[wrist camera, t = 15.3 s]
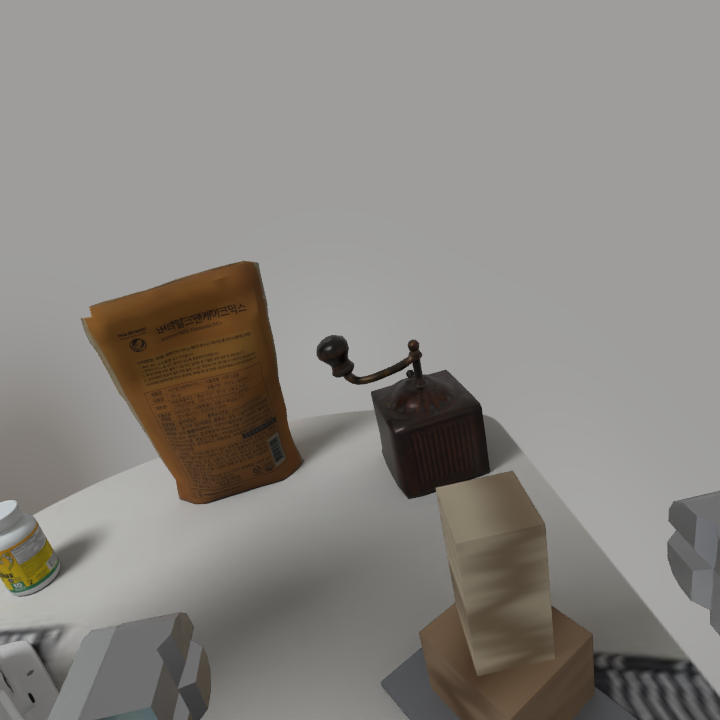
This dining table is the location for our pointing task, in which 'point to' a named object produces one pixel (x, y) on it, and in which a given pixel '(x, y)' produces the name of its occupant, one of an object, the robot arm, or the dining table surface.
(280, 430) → the pancake mix bag
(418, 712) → the mat
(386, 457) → the manual coffee grinder
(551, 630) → the oak column
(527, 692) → the walnut block
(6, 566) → the supplement bottle
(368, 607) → the dining table surface
